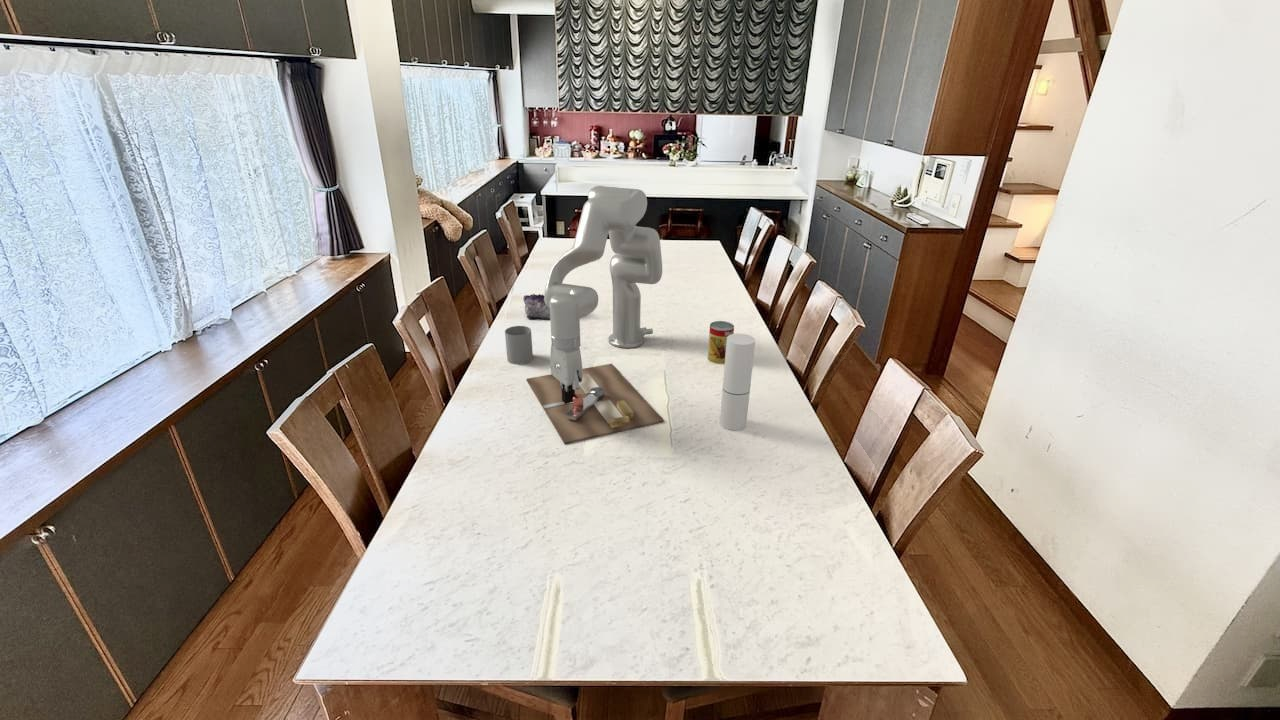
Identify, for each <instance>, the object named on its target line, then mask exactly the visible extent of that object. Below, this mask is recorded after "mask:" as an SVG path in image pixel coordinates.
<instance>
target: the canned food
mask: <svg viewBox="0 0 1280 720" xmlns="http://www.w3.org/2000/svg"><path fill="white" fill-rule="evenodd" d="M708 331H709V334H708V344H707V345H708V346H707V360H708V361H709V362H710V363H713V364H717V365H718V364H719V365H725V354H726V343H727V337H728V336H729V335H731V334H735V333H734V332H735V325H734V324H733V323H732V322H728V321H724V320H716V321H713V322H711V323H710V324H709V330H708Z"/></svg>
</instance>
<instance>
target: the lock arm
mask: <svg viewBox="0 0 1280 720" xmlns="http://www.w3.org/2000/svg"><path fill="white" fill-rule="evenodd" d="M602 398H604V389H603V388H600V387H595V388H592V389H591V390H590V394H589V395H588V396H587V397H585V398H584V399H583V395H581V394H575V395H573V409H572V410H571V411H570V412H569V413H567V414H566V418H568V419H572V420H577V419H578V418H579V417H580V416H581V415H582V414H583V413H584V412H586V411H587V410H588V409H589V408H590V407H591V406H592V405H593V404H594V403H595V402H596V401H597V400H598V399H602Z"/></svg>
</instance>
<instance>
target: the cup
mask: <svg viewBox="0 0 1280 720" xmlns="http://www.w3.org/2000/svg"><path fill="white" fill-rule="evenodd" d="M504 335H505V336H504V337H505V339H504V340H505V347H506V348H505V350H506V359H507V363H510V364H512V365H525V364H528V363H530V362H532V361H533V360H534V355H533V353H534V352H533V340H532V339H533V336H532V329H531V327H528V326H526V325H514V326H510V327H506V329H505V330H504Z"/></svg>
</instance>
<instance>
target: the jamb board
mask: <svg viewBox="0 0 1280 720" xmlns="http://www.w3.org/2000/svg"><path fill="white" fill-rule="evenodd" d="M582 371H583V378H582V382H579V386H580V389H577V390H575V394H581V395H583V399H584V398H585V397H587V396H588V395H589V394H590V390H591V389H592V388H595V387H600V388H603V389H604V398H602V399H598V400H597V401H596V402H595V403H594V404H593V405H592V406H591V407H590V408H589V409H588V410H587V411H586V412H584V413H583V414H582V415H581V416H580V417H579V418H578V419H577V420H572V419H568V418H566V414H567V413H569V412H570V411H571V410H572V409H573V402H570V403H567V404H565V403H564V402H563V401H562V389H563V388H561V386H560V381H559V380H558V379H556V378H555V377H554V376H553V375H552V374H545V375H539V376H534V377H529V378H526V382H527V384H528V385H529V387H530V389H531V390H532V392H533V394H534V396H535V397H536V398H537V401H538V402H539V403H540V405H541V407H542V409H543V411H544V412H545V413H546V416H547V417H548V419H549V420H550V422H551V423H552V425H553V427H554V428H555V431H556V432H557V434H558V436H559V437H560V438H561V441H562V442H563V444H564V445H568V444H571V443H575V442H576V443H577V442H580V441H584V440H590V439H594V438H599V437H603V436H607V435H611V434H616V433H621V432H625V431H630V430H635V429H637V428H644V427H648V426H652V425H655V424H660V423H664V419H663V418H662V416H661V415H660V414H659V413H658V412H657V411H656V410H655V409H654V408H653V407H652V406H651V405H650V404H649V402H648V401H647V400H646V399H645V398H644V397H643V396H642V395H641V393H639V392H638V390H637V389H636V388H635V387H634V386H633V384H631V382H629V381H628V379H627V378H626V377H625V376H623V374H622V373H621V372H620V371H619V370H618V368H616V366H615V365H614V364H613V363H607V364H601V365H596V366H595V365H594V366H589V367H585V368H582Z"/></svg>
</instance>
